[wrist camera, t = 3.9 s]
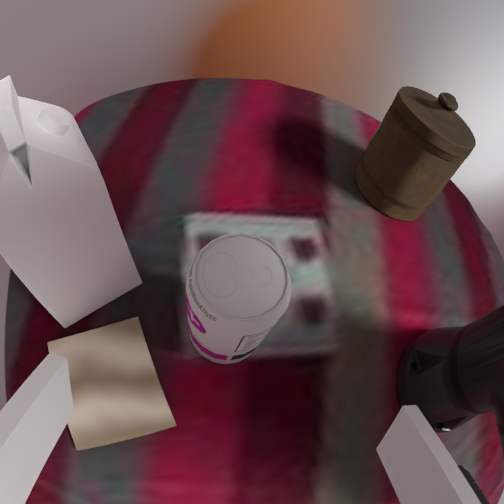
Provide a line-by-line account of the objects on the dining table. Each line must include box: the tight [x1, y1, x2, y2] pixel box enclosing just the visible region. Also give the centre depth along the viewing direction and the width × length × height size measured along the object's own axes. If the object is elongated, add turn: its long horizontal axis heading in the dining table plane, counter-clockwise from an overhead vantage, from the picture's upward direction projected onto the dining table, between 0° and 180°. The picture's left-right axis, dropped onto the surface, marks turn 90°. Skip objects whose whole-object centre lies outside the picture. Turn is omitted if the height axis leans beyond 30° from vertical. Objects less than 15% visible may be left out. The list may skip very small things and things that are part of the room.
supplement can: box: [186, 233, 292, 364], centre depth 29 cm, size 8×8×15 cm
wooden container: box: [355, 86, 475, 221], centre depth 44 cm, size 15×15×22 cm
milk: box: [0, 76, 142, 328], centre depth 25 cm, size 12×12×26 cm
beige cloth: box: [47, 316, 177, 451], centre depth 29 cm, size 13×12×1 cm
